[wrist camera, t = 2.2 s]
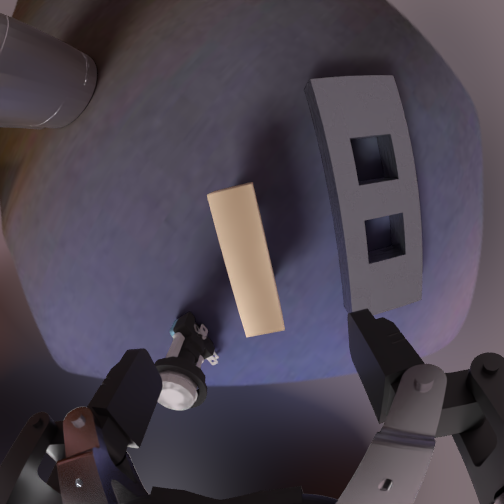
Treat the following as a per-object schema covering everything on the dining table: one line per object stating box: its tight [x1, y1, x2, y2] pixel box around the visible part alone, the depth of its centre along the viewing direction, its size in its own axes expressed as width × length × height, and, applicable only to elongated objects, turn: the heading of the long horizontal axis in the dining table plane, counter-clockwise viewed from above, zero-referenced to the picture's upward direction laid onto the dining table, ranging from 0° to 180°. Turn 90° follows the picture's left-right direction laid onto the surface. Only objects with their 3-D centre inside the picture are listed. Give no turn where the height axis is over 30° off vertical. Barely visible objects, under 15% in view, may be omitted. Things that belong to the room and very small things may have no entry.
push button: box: [155, 312, 219, 410], centre depth 24 cm, size 7×5×10 cm
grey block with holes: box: [304, 75, 422, 315], centre depth 22 cm, size 8×22×3 cm, turn 13°
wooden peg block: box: [207, 182, 285, 337], centre depth 22 cm, size 3×11×7 cm, turn 13°
